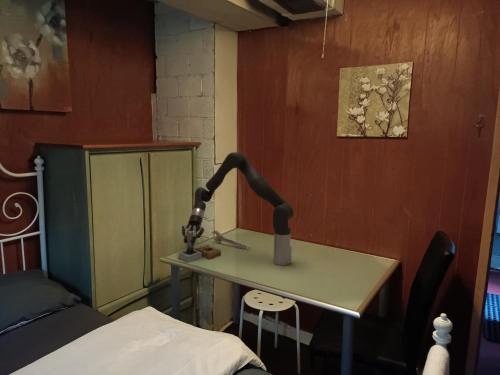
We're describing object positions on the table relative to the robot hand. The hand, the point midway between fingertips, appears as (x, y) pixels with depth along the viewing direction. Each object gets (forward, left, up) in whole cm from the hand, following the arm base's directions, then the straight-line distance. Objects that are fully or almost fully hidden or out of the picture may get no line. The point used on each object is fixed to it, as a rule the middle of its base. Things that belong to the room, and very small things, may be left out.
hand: (188, 243), depth 208 cm
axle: (+1, -2, -7) cm, 7 cm away
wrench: (+1, -34, -10) cm, 35 cm away
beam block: (-2, -13, -10) cm, 16 cm away
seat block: (+1, -2, -10) cm, 10 cm away
